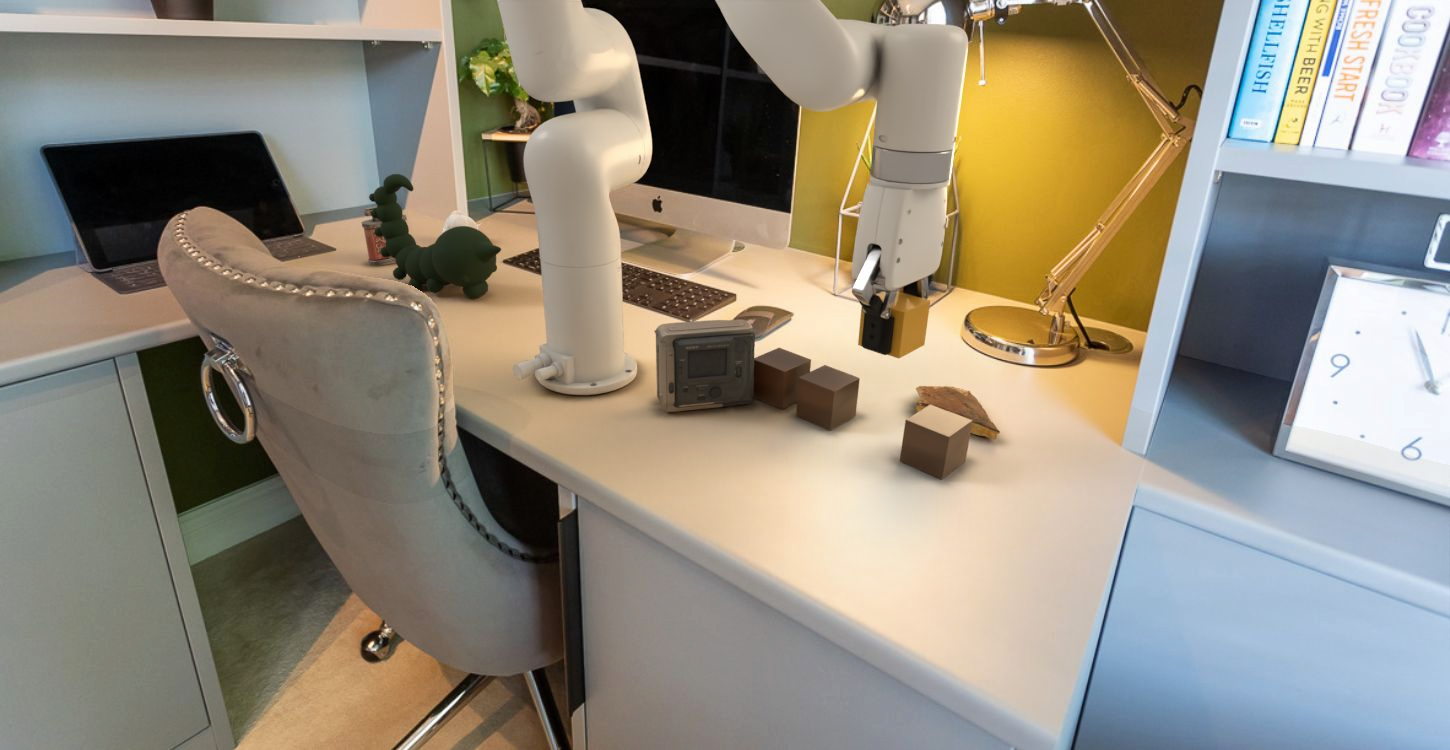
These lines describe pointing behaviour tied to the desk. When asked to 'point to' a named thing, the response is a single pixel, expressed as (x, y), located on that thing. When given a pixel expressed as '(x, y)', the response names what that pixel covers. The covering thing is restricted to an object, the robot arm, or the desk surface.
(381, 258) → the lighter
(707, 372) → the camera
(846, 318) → the desk surface
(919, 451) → the line block
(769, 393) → the line block
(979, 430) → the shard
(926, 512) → the desk surface
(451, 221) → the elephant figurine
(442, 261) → the toy figurine
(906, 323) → the mustard block
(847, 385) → the line block
